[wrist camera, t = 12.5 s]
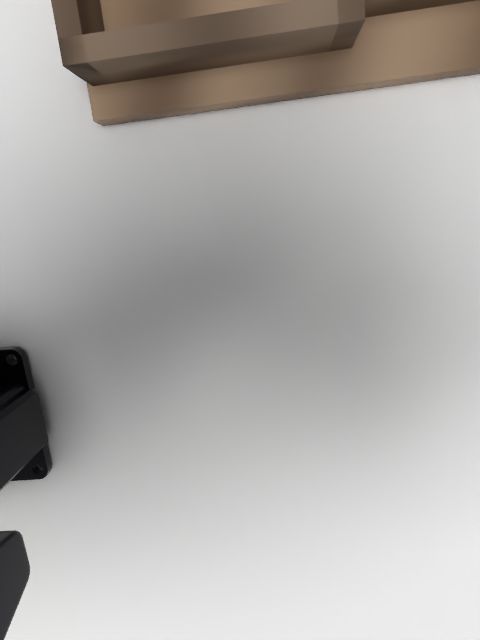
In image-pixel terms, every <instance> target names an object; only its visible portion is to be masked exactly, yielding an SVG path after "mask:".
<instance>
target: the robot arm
mask: <svg viewBox="0 0 480 640" xmlns="http://www.w3.org/2000/svg"><path fill="white" fill-rule="evenodd" d="M11 355H14V356H16V358H17V362H14V361H13V360H12V358H11ZM47 441H48V437H47V433H46V428H45V424H44V419H43V415H42V411H41V406H40V402H39V397H38V394H37V392H36V391H35V389H34V385H33V381H32V376H31V372H30V367H29V363H28V359H27V355H26V353H25V351H24V350H23V349H21V348H19V347H5V348H0V491H1V490H2V489H3V488H4V487H5V486H6V485H7V484H8V483H9V481H18V480H34V479H42V478H44V477H46V476H47V474H48V473H49V472H50V471H51V469H52V464H51V460H50V455H49V451H48V446H47ZM37 465H39V466H41V467H42V469H43V470H40V469H39V468H38V467H37ZM29 574H30V565H29V561H28V557H27V553H26V549H25V545H24V541H23V537H22V535H21V533H20V532H18V531H0V640H4V638H5V636H6V633H7V631H8V628H9V626H10V624H11V621H12V619H13V616H14V614H15V611H16V609H17V606H18V604H19V601H20V599H21V596H22V594H23V591H24V589H25V587H26V584H27V582H28V579H29Z"/></svg>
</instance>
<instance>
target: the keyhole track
mask: <svg viewBox="0 0 480 640" xmlns="http://www.w3.org/2000/svg"><path fill="white" fill-rule="evenodd" d="M51 2H52V8H53V13H54V19H55V24H56V30H57V35H58V41H59V46H60V52H61V57H62V63H63V66H64V67H65V68H67V69H68V70H70V71H71V72H73V73H74V74H76V75H77V76H78V77H80V78H81V79H83V80H84V81H86V82H87V86H88V92H89V97H90V103H91V109H92V115H93V121H94V122H96V123H98V124H101V125H103V126H105V125H112V124H119V123H127V122H134V121H141V120H148V119H155V118H163V117H170V116H177V115H184V114H192V113H199V112H206V111H213V110H220V109H228V108H235V107H242V106H249V105H256V104H264V103H271V102H278V101H285V100H293V99H300V98H307V97H314V96H321V95H329V94H336V93H343V92H350V91H357V90H365V89H372V88H379V87H386V86H394V85H401V84H408V83H415V82H422V81H430V80H437V79H444V78H451V77H458V76H466V75H473V74H480V0H51Z"/></svg>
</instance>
